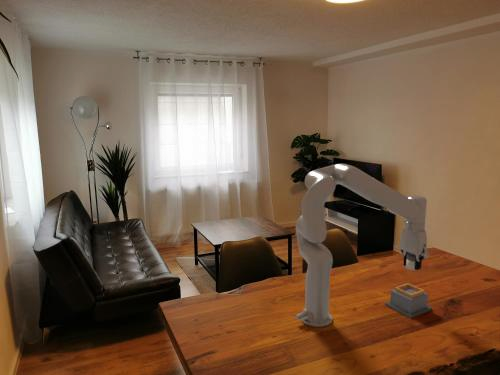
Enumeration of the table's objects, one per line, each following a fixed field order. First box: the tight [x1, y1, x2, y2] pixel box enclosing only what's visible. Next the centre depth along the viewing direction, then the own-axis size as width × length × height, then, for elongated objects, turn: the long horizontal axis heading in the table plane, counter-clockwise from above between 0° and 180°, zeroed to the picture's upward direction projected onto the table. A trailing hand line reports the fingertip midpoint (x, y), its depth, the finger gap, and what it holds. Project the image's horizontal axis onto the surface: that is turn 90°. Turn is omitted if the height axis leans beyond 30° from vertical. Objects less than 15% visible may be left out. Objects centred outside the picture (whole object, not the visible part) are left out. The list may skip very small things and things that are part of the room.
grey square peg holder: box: [384, 282, 433, 319], centre depth 167 cm, size 14×13×8 cm
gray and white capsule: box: [405, 253, 417, 271], centre depth 164 cm, size 5×5×6 cm
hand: (412, 266), depth 164 cm, fingers closed on gray and white capsule, 4 cm apart
